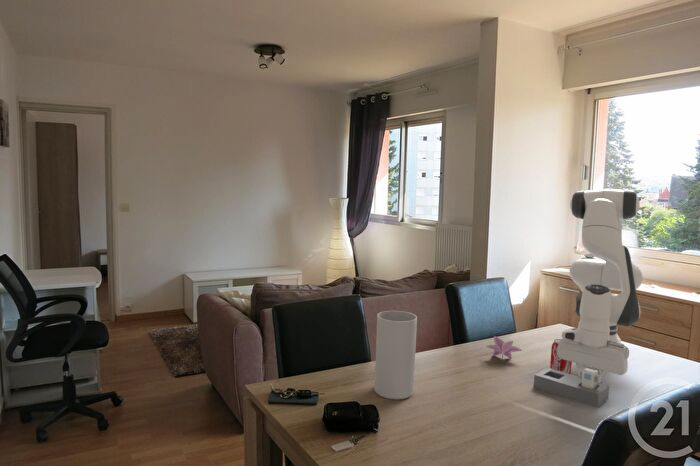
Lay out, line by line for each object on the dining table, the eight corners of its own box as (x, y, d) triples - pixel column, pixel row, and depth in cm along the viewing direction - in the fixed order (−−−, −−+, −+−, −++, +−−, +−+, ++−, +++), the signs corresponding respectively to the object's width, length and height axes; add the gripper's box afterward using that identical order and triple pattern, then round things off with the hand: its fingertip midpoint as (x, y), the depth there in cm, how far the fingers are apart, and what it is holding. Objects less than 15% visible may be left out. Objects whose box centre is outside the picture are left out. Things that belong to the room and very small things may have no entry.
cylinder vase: (416, 387, 161) (420, 313, 158) (408, 403, 149) (412, 323, 146) (380, 381, 165) (383, 309, 162) (369, 396, 153) (372, 318, 150)
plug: (584, 394, 158) (586, 367, 157) (595, 398, 155) (597, 370, 154) (579, 398, 155) (582, 370, 154) (591, 401, 152) (593, 374, 151)
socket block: (546, 381, 170) (547, 367, 169) (608, 400, 156) (609, 385, 155) (533, 389, 163) (534, 374, 162) (597, 410, 149) (598, 394, 148)
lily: (525, 367, 185) (524, 341, 189) (509, 361, 178) (509, 335, 182) (496, 367, 194) (496, 343, 197) (480, 362, 186) (480, 337, 190)
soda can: (572, 378, 173) (575, 345, 172) (551, 376, 174) (554, 343, 173) (568, 371, 180) (570, 339, 179) (547, 369, 181) (550, 337, 180)
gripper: (632, 343, 148) (628, 387, 150) (564, 327, 162) (561, 367, 164) (626, 347, 144) (622, 393, 145) (556, 331, 158) (553, 372, 159)
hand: (589, 379), depth 155 cm, fingers closed on plug, 3 cm apart
